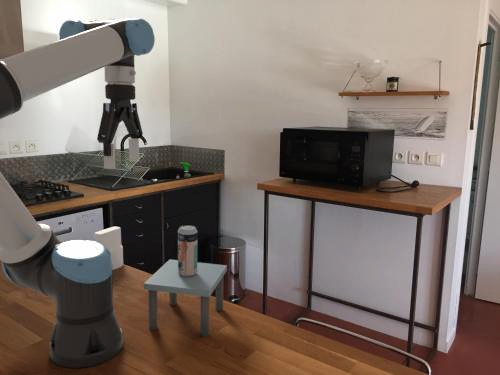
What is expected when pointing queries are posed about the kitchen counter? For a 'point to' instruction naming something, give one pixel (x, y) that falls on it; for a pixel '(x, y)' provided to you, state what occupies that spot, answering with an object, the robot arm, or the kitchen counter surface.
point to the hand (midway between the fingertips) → (122, 165)
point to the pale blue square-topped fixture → (187, 289)
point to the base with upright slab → (111, 244)
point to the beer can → (187, 250)
